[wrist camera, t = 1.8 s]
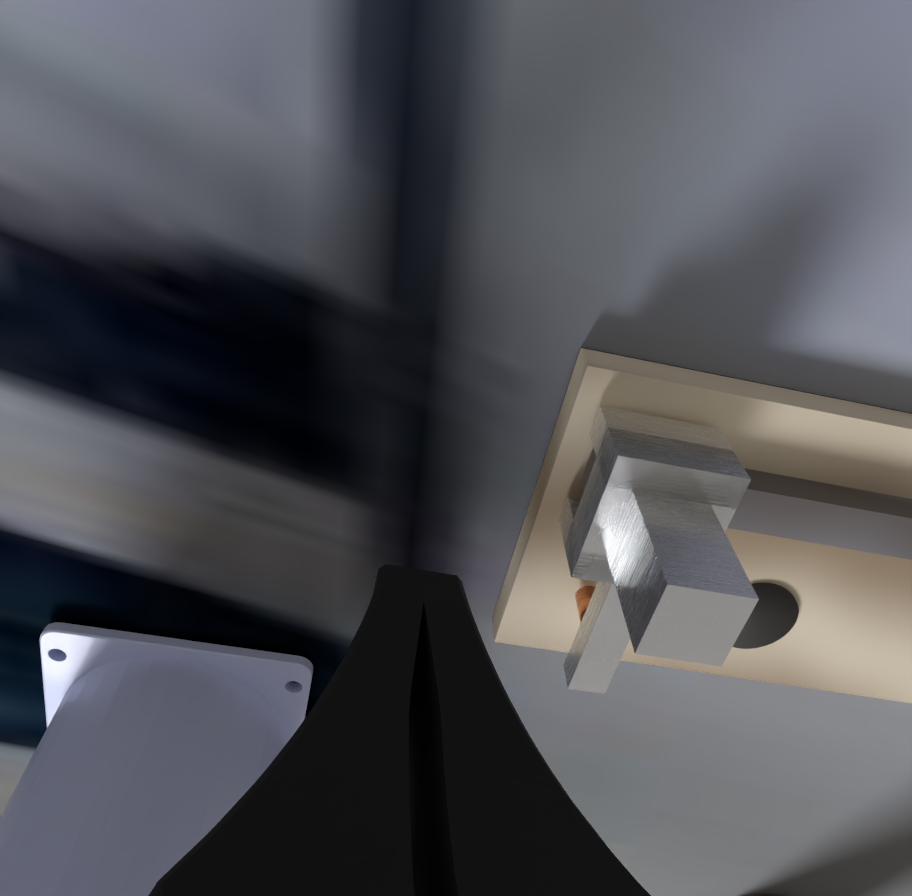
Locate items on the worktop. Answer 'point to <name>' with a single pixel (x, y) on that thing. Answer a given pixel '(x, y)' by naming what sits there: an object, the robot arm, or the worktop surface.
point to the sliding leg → (655, 547)
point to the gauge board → (751, 526)
